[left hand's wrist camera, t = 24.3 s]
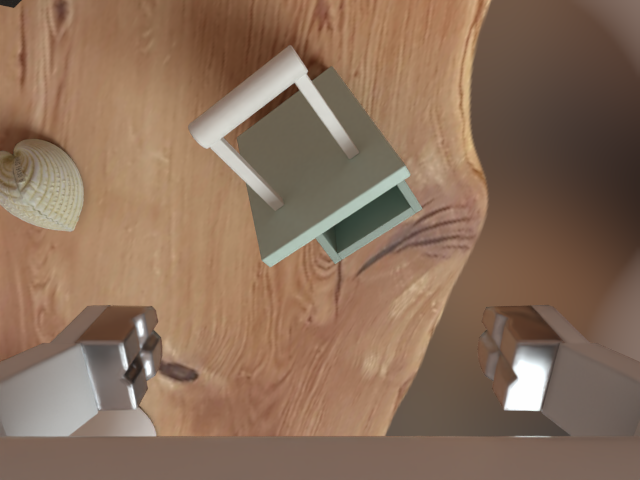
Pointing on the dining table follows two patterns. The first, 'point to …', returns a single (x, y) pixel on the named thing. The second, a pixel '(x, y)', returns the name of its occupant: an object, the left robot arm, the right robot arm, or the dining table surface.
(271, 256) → the lid
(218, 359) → the dining table surface
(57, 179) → the seashell
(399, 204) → the chest
